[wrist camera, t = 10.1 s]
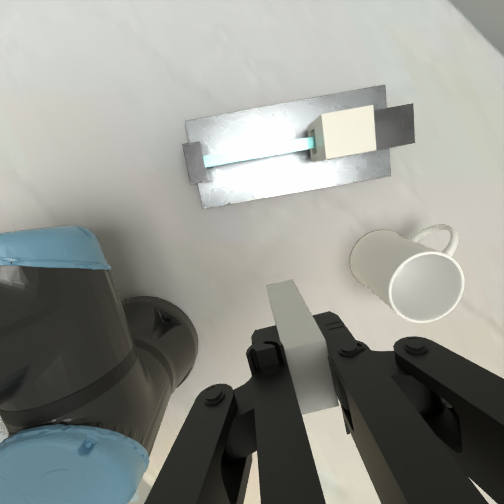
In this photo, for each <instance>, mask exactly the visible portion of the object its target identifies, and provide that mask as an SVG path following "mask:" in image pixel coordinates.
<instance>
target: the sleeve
mask: <svg viewBox="0 0 504 504" xmlns="http://www.w3.org/2000/svg"><path fill="white" fill-rule="evenodd" d="M307 129H308V137H314V136H315V142H316V148H313V149H310V154H311V162H317V161H323V160H329V159H334V158H340V157H346V156H351V155H356V154H361V153H366V152H370V151H375V150H376V137H375V123H374V109H373V105H369V106H364V107H358V108H353V109H347V110H341V111H336V112H330V113H325V114H321V115H320V116H319V117H317V118H316V119H315V120H314V121H313V122H312V123H310V124H309V125H308V126H307Z"/></svg>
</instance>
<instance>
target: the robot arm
mask: <svg viewBox="0 0 504 504" xmlns="http://www.w3.org/2000/svg"><path fill="white" fill-rule="evenodd" d="M111 269H112V268H111V266H110V265H109V264H108V263H107V261H106V259H105V257H104V254H103V252H102V249H101V247H100V244H99V242H98V239H97V237H96V236H95V235H94V234H93V233H92V232H91V231H90V230H88V229H87V228H84V227H81V226H60V227H50V228H40V229H31V230H23V231H14V232H6V233H0V416H1V418H2V420H3V422H4V424H5V426H6V428H7V430H8V433H9V436H8V438H6V439H4V440H3V441H2V442H1V443H0V504H127V503H128V502H129V501H130V500H131V499H132V497H133V495H134V494H135V492H136V489H137V487H138V485H139V483H140V481H141V479H142V476H143V474H144V472H145V471H146V470H147V468H148V465H149V457H150V454H151V451H152V448H153V445H154V442H155V439H156V436H157V433H158V431H159V428H160V425H161V422H162V419H163V416H164V413H165V410H166V407H167V404H168V401H169V398H170V396H171V394H172V393H173V392H174V391H175V389H176V388H177V387H178V386H180V385H181V384H182V383H183V382H184V381H185V379H186V378H187V377H188V376H189V374H190V372H191V370H192V368H193V366H194V363H195V360H196V356H197V352H198V338H197V334H196V331H195V328H194V326H193V324H192V322H191V321H190V319H189V318H188V317H187V316H186V314H185V313H184V312H183V311H181V310H180V309H179V308H178V307H176V306H175V305H173V304H171V303H169V302H167V301H165V300H162V299H158V298H154V297H135V298H130V299H127V300H124V301H122V302H121V300H120V297H119V294H118V291H117V288H116V285H115V282H114V279H113V276H112V273H111ZM266 287H267V291H268V295H269V299H270V303H271V307H272V311H273V316H274V320H275V324H276V325H275V326H271V327H267V328H263V329H259V330H255V332H254V333H253V335H252V337H251V339H252V345H251V346H250V347H249V348H248V349H247V352H246V355H247V359H248V363H249V366H250V370H251V373H252V377H251V378H250V380H249V381H248V382H246V383H245V384H244V385H242V386H240V387H238V388H236V389H234V390H233V389H232V387H231V386H229V385H227V384H216V385H212V386H210V387H208V388H206V389H205V390H203V391H202V392H201V393H200V394H199V395H198V397H197V398H196V400H195V402H194V404H193V406H192V408H191V410H190V412H189V414H188V416H187V418H186V420H185V422H184V424H183V426H182V428H181V430H180V432H179V434H178V436H177V438H176V440H175V442H174V444H173V446H172V448H171V450H170V452H169V455H168V457H167V459H166V461H165V463H164V465H163V467H162V469H161V471H160V473H159V475H158V477H157V479H156V481H155V483H154V485H153V487H152V489H151V491H150V493H149V495H148V498H147V499H146V501H145V503H144V504H243V503H244V498H245V493H246V488H247V483H248V478H249V473H250V468H251V463H252V453H253V452H255V451H257V455H258V469H259V482H260V496H261V504H326V503H325V499H324V495H323V492H322V488H321V484H320V481H319V477H318V473H317V470H316V466H315V462H314V459H313V455H312V451H311V448H310V444H309V440H308V436H307V433H306V429H305V425H304V422H303V418H302V414H306V413H311V412H315V411H319V410H323V409H327V408H332V407H336V406H339V403H338V399H339V401H340V403H341V408H342V412H343V417H344V422H345V427H346V432H347V434H350V433H351V435H352V437H353V440H354V442H355V444H356V447H357V449H358V451H359V453H360V456H361V458H362V460H363V463H364V465H365V467H366V469H367V472H368V474H369V476H370V479H371V481H372V483H373V485H374V488H375V490H376V492H377V494H378V497H379V499H380V501H381V504H488V502H487V501H486V500H485V498H484V497H483V496H482V494H481V493H480V492H479V490H478V489H477V488H476V487H475V485H474V484H473V483H472V481H474V482H475V483H476V484H477V485H478V486H479V487H480V488H481V489H482V490H483V491H484V492H486V493H487V494H488V495H489V496H490V497H491V498H492V499H493V500H494V501H495V502H496V503H498V504H504V379H503V378H501V377H499V376H497V375H495V374H494V373H492V372H490V371H488V370H486V369H484V368H482V367H480V366H479V365H477V364H475V363H473V362H471V361H469V360H467V359H465V358H464V357H462V356H460V355H458V354H456V353H454V352H452V351H450V350H449V349H447V348H445V347H443V346H441V345H439V344H437V343H435V342H434V341H432V340H429V339H426V338H422V337H406V338H402V339H400V340H398V341H397V342H395V344H394V346H393V347H394V351H372V350H370V349H369V347H368V346H367V345H366V344H364V343H363V342H360V341H357V340H355V338H354V337H353V336H352V334H351V333H350V331H349V330H348V329H347V327H345V325H344V323H343V322H342V320H341V319H340V318H339V316H338V315H336V314H334V313H332V312H330V311H329V312H325V313H321V314H317V315H313V316H312V314H311V312H310V310H309V309H308V307H307V305H306V303H305V301H304V299H303V298H302V296H301V294H300V292H299V290H298V288H297V286H296V285H295V283H294V281H293V279H292V280H288V281H284V282H280V283H276V284H272V285H267V286H266ZM337 397H338V398H337ZM469 478H470V479H471V480H472V481H471V480H470V479H469Z"/></svg>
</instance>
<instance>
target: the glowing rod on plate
mask: <svg viewBox="0 0 504 504" xmlns="http://www.w3.org/2000/svg"><path fill="white" fill-rule="evenodd" d="M369 105H373V109H374V123H375V137H376V150H375V151H370V152H366V153H361V154H356V155H351V156H346V157H340V158H334V159H329V160H323V161H317V162H311V154H310V149H313V148H316V142H315V136H314V137H308V129H307V126H308V125H309V124H310V123H312V122H313V121H314V120H315V119H316V118H317V117H319V116H320V115H321V114H325V113H330V112H336V111H341V110H347V109H353V108H358V107H364V106H369ZM185 124H186V129H187V134H188V138H189V143H186V144H182V145H183V150H184V155H185V160H186V164H187V169H188V174H189V178H190V183H191V184H198V187H199V191H200V196H201V201H202V206H203V209H204V208H210V207H215V206H221V205H227V204H233V203H238V202H244V201H250V200H256V199H261V198H267V197H273V196H279V195H284V194H290V193H296V192H302V191H307V190H313V189H319V188H325V187H330V186H336V185H342V184H348V183H353V182H359V181H365V180H371V179H376V178H382V177H388V176H391V170H390V154H389V148H393V147H398V146H402V145H407V144H412V143H415V135H414V111H413V104H407V105H402V106H396V107H391V108H387V105H386V89H385V85H381V86H375V87H370V88H364V89H359V90H353V91H348V92H342V93H337V94H331V95H326V96H320V97H315V98H309V99H304V100H298V101H292V102H287V103H281V104H276V105H270V106H265V107H259V108H254V109H248V110H243V111H237V112H232V113H226V114H221V115H215V116H210V117H204V118H199V119H193V120H188V121H185Z"/></svg>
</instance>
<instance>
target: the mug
mask: <svg viewBox="0 0 504 504" xmlns="http://www.w3.org/2000/svg"><path fill="white" fill-rule="evenodd" d="M438 230H448V231H450V233H451V238H450V241H449V243H448V245H447V247H446V248H445V249H444V250H443V251H442V252H439V251H436V250H434V249H431V248H429V247H426V246H423V245H421V244H418V243H417V242H418V241H419V240H420V239H421V238H423V237H424V236H426V235H428V234H430V233H432V232H435V231H438ZM457 245H458V234H457V232H456V230H455V229H454V228H452V227H451V226H449V225H444V224H439V225H434V226H430V227H428V228H426V229H423V230H422V231H420V232H418V233H417V234H415V235H414V236H413V237H411V238H410V239H405V238H403V237H401V236H400V235H398V234H397V233H395V232H392V231H388V230H378V231H373V232H371V233H368V234H367V235H365V236H363V237H362V238H361V239H360V240H359V241H358V242H357V243H356V245H355V246H354V248H353V250H352V253H351V257H350V267H351V271H352V273H353V275H354V277H355V278H356V279H357V280H358V281H359V282H360V283H362V284H363V285H365V286H367V287H368V288H369V289H370V290H371V291H373V292H374V293H375V294H376V295H377V296H378V297H379V298H380V299H381V300H383V301H384V302H385V303H386V304H387V305H388V306H389V307H390V308H391V309H392V310H394V311H395V312H396V313H397V314H398V315H399V316H401V317H402V318H404V319H406V320H408V321H411V322H415V323H427V322H432V321H435V320H438V319H440V318H442V317H444V316H445V315H447V314H448V313H449V312H450V311H452V310H453V308H454V307H455V306H456V305H457V303H458V302H459V300H460V298H461V296H462V293H463V290H464V275H463V272H462V269H461V267H460V266H459V264H458V263H457V262H456V261H455V260H454V259H453V258H452V255H453V253H454V251H455V250H456V247H457Z"/></svg>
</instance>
